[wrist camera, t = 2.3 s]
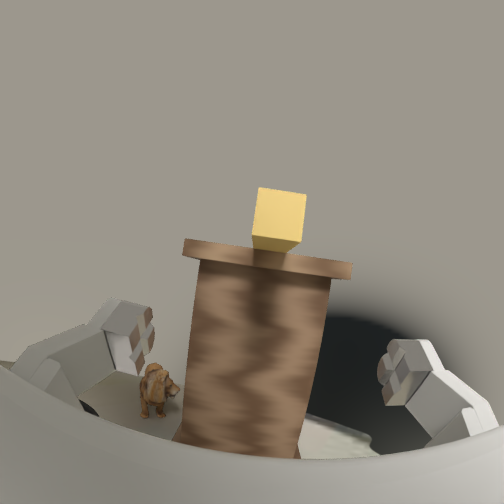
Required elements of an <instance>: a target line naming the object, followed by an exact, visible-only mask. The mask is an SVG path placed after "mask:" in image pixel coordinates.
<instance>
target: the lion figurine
mask: <svg viewBox="0 0 504 504" xmlns="http://www.w3.org/2000/svg"><path fill="white" fill-rule="evenodd" d="M178 391H180V388H179V387H177V386H176V385H175V384H174V383H173V380H171V379H170V378H169V372H168V371H166V370H163V368H162V366H161V365H159V364H157V363H153V364H149V365H148V366H147V368H146V371H145V376H144V377H143V378H142V380H141V382H140V394H141V396H140V398H141V405H142V413H141V414H140V416H141V417H143V418H148V415H149V412H148V406H147V405H148V404H149V405H153V406H157V409H156V414H157V416H158V417H160V418H163V417H165V414H164V413H163V411H162V409H163V405H164V402H165V401H167V398H168V396H169V397H170V398H172V399H174V398H175V395H176V394H177V393H178Z"/></svg>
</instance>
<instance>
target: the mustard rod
mask: <svg viewBox="0 0 504 504" xmlns="http://www.w3.org/2000/svg"><path fill="white" fill-rule="evenodd" d="M306 196H307V195H305V194H299V193H293V192H287V191H280V190H273V189H267V188H259V190H258V198H257V204H256V210H255V217H254V223H253V231H252V241H253V248H254V249H261V250H268V251H275V252H282V253H287V252H288V251H289V250H291V249H292V248H294V247H295V246H296V245H298V244H299V243H300V242H301V239H302V230H303V222H304V214H305V204H306Z"/></svg>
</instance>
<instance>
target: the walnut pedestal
mask: <svg viewBox="0 0 504 504" xmlns="http://www.w3.org/2000/svg"><path fill="white" fill-rule="evenodd" d="M182 255H183V256H187V257H191V258H195V259H198V260H200V266H199V272H198V280H197V286H196V293H195V300H194V308H193V316H192V324H191V332H190V340H189V349H188V358H187V368H186V378H185V388H184V400H183V412H182V422H181V424H180V426H179V428H178V430H177V432H176V433H175V435H174V437H173V439H172V441H174V442H178V443H182V444H186V445H191V446H195V447H200V448H205V449H211V450H216V451H222V452H229V453H235V454H243V455H251V456H261V457H273V458H289V459H301V457H300V453H299V449H298V444H297V443H298V440H299V436H300V432H301V429H302V425H303V421H304V417H305V413H306V409H307V405H308V401H309V397H310V392H311V388H312V384H313V379H314V374H315V370H316V365H317V360H318V355H319V350H320V345H321V340H322V334H323V329H324V323H325V317H326V311H327V305H328V299H329V292H330V285H331V279H346V280H350V279H351V271H352V263H349V262H342V261H336V260H329V259H321V258H316V257H309V256H302V255H295V254H288V253H282V252H275V251H268V250H261V249H254V248H248V247H241V246H234V245H227V244H220V243H213V242H206V241H199V240H192V239H185V241H184V247H183V254H182Z"/></svg>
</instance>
